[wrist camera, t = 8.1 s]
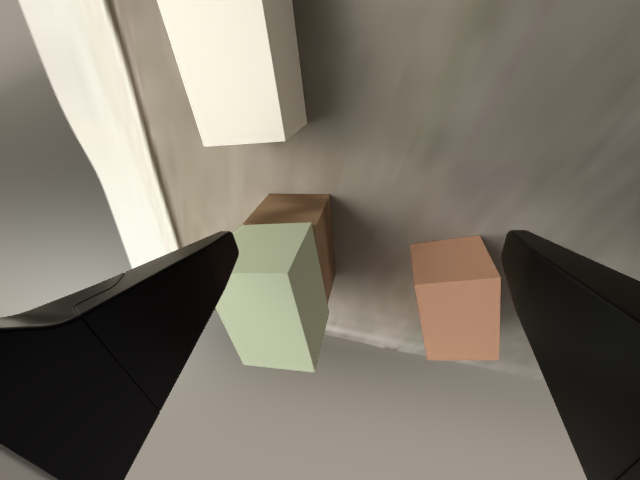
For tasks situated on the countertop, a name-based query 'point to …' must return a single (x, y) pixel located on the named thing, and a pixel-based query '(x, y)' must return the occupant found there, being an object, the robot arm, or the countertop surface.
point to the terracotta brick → (457, 299)
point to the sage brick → (276, 297)
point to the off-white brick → (238, 68)
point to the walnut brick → (303, 211)
